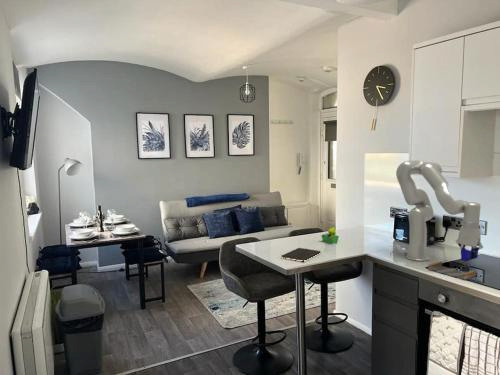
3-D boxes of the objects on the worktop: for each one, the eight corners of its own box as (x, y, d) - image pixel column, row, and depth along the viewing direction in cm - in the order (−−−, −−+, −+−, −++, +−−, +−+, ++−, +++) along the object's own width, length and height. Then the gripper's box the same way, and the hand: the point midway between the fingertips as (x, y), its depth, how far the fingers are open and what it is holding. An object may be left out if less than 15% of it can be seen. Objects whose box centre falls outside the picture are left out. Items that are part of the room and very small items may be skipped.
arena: (428, 270, 208) (428, 264, 208) (439, 266, 214) (440, 261, 214) (465, 280, 191) (465, 274, 191) (476, 276, 197) (476, 270, 197)
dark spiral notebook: (280, 259, 236) (280, 255, 235) (298, 251, 254) (298, 247, 254) (303, 263, 226) (303, 259, 226) (320, 254, 245) (320, 251, 245)
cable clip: (469, 255, 214) (470, 245, 213) (477, 257, 210) (478, 247, 210) (458, 259, 207) (459, 248, 207) (466, 261, 204) (467, 250, 203)
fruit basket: (320, 241, 276) (320, 226, 275) (329, 240, 281) (329, 225, 280) (331, 245, 267) (332, 229, 266) (340, 243, 272) (340, 227, 271)
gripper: (451, 222, 211) (449, 254, 214) (483, 228, 197) (480, 262, 200) (459, 221, 215) (456, 252, 218) (490, 227, 201) (487, 260, 204)
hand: (467, 256), depth 209 cm, fingers closed on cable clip, 4 cm apart
